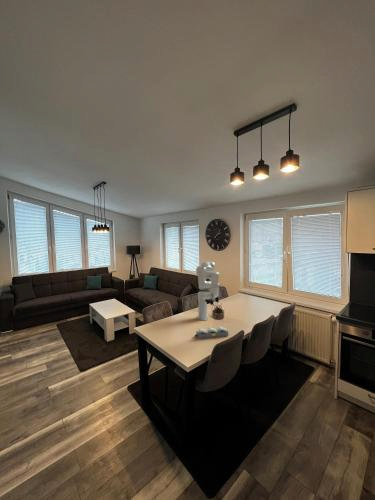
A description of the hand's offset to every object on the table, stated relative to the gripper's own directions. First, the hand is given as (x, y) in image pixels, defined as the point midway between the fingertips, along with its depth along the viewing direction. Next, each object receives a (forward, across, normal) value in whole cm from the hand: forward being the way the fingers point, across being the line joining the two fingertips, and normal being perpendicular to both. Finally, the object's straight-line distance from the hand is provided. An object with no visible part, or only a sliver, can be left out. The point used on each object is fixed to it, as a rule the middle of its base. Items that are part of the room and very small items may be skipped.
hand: (214, 303), depth 194 cm
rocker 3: (+23, -2, +8) cm, 24 cm away
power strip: (+29, +6, 0) cm, 30 cm away
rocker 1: (+23, +13, -4) cm, 27 cm away
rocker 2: (+23, +5, +2) cm, 24 cm away
